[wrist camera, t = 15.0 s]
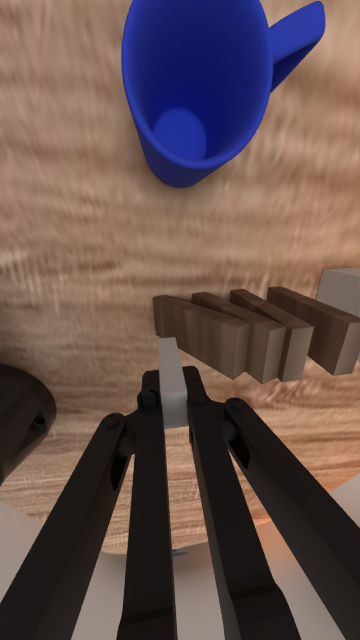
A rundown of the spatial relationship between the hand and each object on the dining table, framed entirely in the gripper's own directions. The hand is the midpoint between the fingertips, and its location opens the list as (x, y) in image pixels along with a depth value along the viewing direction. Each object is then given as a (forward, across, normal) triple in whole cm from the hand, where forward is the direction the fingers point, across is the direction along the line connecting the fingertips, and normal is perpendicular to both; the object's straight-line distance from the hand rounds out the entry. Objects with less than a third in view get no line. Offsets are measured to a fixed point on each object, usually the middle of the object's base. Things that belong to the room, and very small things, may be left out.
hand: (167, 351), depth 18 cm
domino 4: (+10, +15, 0) cm, 18 cm away
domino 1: (+9, 0, 0) cm, 9 cm away
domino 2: (+9, +5, 0) cm, 10 cm away
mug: (+10, +4, +18) cm, 21 cm away
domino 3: (+9, +10, 0) cm, 14 cm away
